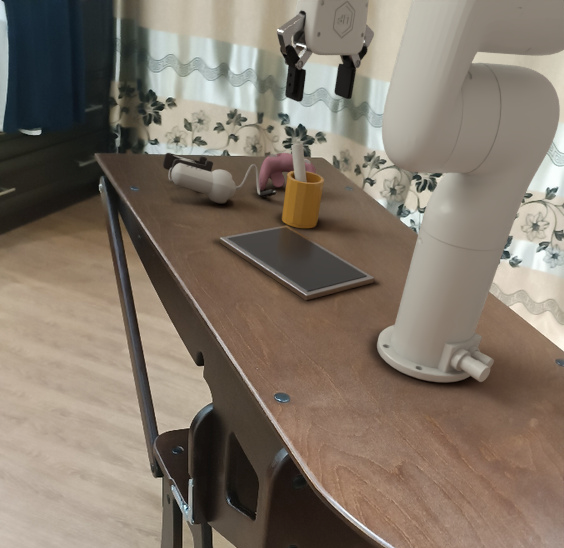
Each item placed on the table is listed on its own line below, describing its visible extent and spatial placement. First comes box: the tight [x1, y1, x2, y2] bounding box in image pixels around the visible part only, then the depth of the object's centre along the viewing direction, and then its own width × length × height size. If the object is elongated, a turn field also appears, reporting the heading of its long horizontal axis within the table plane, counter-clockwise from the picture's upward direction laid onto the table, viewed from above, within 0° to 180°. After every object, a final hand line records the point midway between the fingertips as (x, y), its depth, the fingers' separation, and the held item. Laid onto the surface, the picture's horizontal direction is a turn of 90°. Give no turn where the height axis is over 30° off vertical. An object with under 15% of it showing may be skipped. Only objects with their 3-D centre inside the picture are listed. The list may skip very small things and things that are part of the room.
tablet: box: [219, 224, 375, 301], centre depth 104 cm, size 20×13×1 cm, turn 39°
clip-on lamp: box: [162, 152, 278, 204], centre depth 119 cm, size 12×6×18 cm
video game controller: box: [258, 152, 317, 192], centre depth 125 cm, size 10×5×7 cm, turn 84°
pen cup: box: [281, 171, 325, 229], centre depth 114 cm, size 6×6×7 cm
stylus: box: [290, 143, 307, 182], centre depth 113 cm, size 2×2×11 cm
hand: (318, 97), depth 104 cm, fingers open, 9 cm apart
